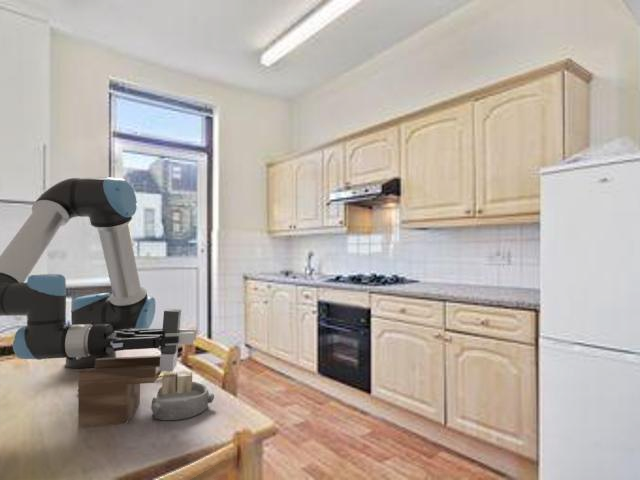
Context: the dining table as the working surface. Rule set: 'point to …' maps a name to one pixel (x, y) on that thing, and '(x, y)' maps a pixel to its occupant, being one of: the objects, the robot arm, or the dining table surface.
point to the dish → (181, 403)
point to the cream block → (169, 382)
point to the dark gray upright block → (170, 351)
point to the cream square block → (184, 381)
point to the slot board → (114, 389)
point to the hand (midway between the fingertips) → (194, 336)
